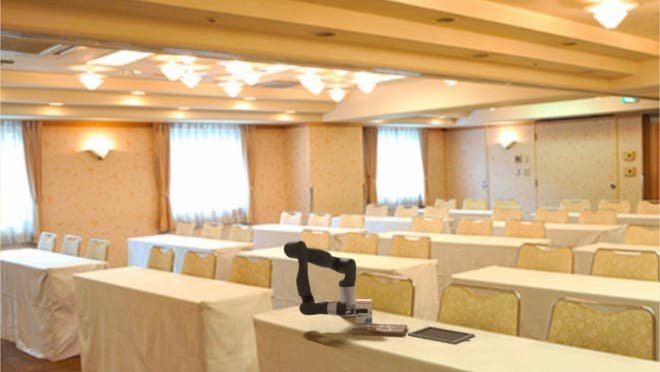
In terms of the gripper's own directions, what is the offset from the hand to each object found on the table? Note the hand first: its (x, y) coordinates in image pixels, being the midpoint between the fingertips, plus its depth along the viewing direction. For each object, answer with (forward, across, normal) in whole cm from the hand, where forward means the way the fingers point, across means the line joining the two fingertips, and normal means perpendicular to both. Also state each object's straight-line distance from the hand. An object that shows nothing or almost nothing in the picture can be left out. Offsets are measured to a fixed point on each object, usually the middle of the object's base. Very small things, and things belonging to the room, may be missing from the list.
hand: (368, 310), depth 343 cm
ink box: (-3, 0, +7) cm, 7 cm away
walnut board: (+6, 0, +11) cm, 12 cm away
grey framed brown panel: (+39, -4, +11) cm, 40 cm away
